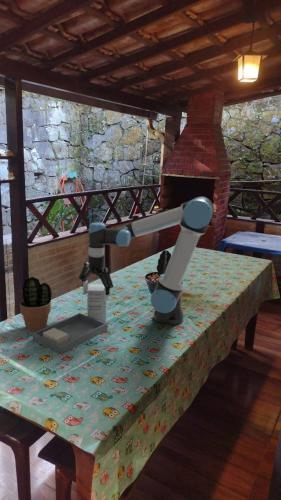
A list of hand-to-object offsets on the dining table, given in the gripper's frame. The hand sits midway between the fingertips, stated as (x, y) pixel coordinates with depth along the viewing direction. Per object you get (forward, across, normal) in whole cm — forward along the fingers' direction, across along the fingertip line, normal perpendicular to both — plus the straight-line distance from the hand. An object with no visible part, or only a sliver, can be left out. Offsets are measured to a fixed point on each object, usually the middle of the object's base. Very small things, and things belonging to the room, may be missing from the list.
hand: (95, 297), depth 178 cm
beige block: (+11, -4, +29) cm, 31 cm away
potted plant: (+12, +14, +25) cm, 31 cm away
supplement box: (+12, 0, -1) cm, 12 cm away
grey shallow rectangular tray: (+12, -4, +20) cm, 23 cm away
